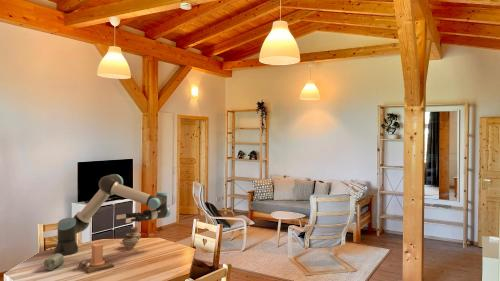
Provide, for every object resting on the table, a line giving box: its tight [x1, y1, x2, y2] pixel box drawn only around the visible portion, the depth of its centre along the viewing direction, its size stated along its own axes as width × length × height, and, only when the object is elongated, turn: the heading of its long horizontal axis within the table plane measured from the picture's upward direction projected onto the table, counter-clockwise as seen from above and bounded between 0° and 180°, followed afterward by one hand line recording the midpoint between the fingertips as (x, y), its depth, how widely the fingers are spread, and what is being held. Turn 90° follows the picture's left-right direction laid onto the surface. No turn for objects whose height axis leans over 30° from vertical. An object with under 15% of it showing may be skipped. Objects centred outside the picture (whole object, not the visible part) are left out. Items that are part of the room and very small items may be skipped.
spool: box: [43, 253, 65, 271], centre depth 228 cm, size 14×10×10 cm
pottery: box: [121, 226, 142, 250], centre depth 277 cm, size 11×25×12 cm, turn 6°
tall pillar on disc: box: [89, 242, 105, 267], centre depth 232 cm, size 9×9×12 cm
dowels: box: [81, 260, 90, 269], centre depth 227 cm, size 8×2×3 cm, turn 45°
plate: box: [78, 258, 115, 274], centre depth 231 cm, size 16×16×2 cm
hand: (121, 219), depth 244 cm, fingers open, 13 cm apart
